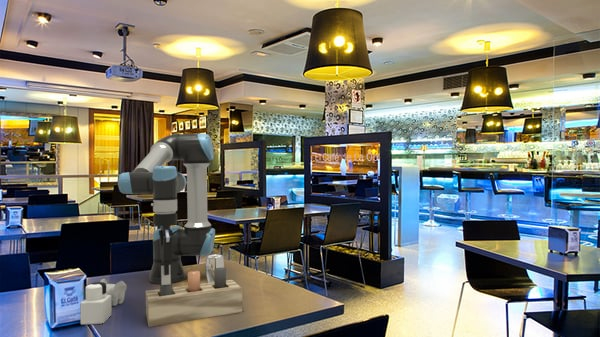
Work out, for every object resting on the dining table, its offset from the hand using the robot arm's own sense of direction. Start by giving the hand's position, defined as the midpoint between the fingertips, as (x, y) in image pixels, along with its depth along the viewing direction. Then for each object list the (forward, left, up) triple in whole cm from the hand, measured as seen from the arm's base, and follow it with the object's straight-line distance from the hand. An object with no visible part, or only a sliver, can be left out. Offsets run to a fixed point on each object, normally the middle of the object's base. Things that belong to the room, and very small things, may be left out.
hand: (166, 284), depth 134 cm
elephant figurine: (-23, -17, -11) cm, 31 cm away
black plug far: (0, +18, -5) cm, 19 cm away
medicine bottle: (-8, -21, -11) cm, 25 cm away
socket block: (0, +9, -11) cm, 14 cm away
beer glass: (-17, +20, -11) cm, 29 cm away
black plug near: (0, 0, -8) cm, 8 cm away
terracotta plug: (0, +9, -5) cm, 10 cm away
